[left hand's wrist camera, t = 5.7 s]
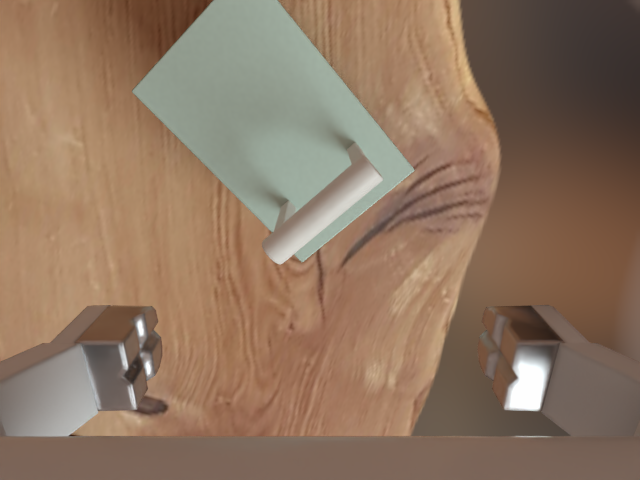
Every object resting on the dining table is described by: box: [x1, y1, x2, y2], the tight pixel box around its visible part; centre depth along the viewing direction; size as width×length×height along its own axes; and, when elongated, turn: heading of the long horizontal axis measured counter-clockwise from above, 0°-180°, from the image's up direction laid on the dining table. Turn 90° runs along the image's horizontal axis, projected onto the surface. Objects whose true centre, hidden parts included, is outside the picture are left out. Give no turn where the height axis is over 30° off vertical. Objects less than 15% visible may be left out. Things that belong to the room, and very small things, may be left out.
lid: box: [132, 0, 414, 264], centre depth 21 cm, size 14×9×8 cm, turn 42°
